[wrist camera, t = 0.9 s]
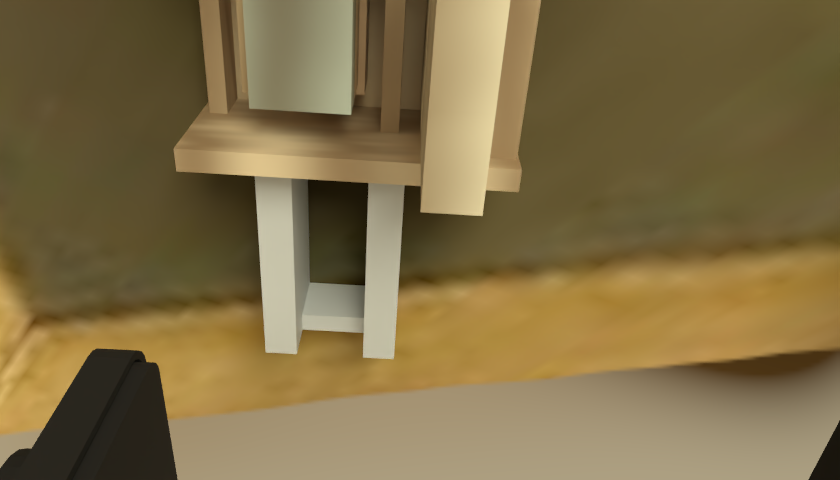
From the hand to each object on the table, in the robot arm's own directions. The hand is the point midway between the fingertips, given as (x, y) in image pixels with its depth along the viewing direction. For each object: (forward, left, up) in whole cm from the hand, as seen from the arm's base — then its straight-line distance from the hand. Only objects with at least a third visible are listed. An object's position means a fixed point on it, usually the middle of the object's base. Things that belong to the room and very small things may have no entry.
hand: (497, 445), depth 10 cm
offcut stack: (+6, 0, -25) cm, 26 cm away
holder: (+5, +11, -26) cm, 29 cm away
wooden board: (0, 0, -25) cm, 25 cm away
